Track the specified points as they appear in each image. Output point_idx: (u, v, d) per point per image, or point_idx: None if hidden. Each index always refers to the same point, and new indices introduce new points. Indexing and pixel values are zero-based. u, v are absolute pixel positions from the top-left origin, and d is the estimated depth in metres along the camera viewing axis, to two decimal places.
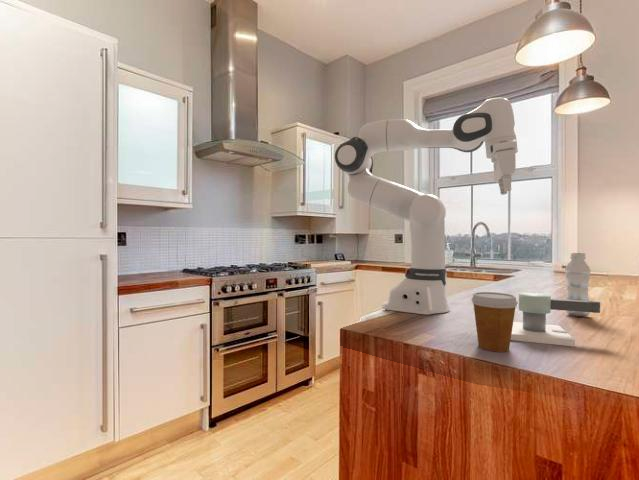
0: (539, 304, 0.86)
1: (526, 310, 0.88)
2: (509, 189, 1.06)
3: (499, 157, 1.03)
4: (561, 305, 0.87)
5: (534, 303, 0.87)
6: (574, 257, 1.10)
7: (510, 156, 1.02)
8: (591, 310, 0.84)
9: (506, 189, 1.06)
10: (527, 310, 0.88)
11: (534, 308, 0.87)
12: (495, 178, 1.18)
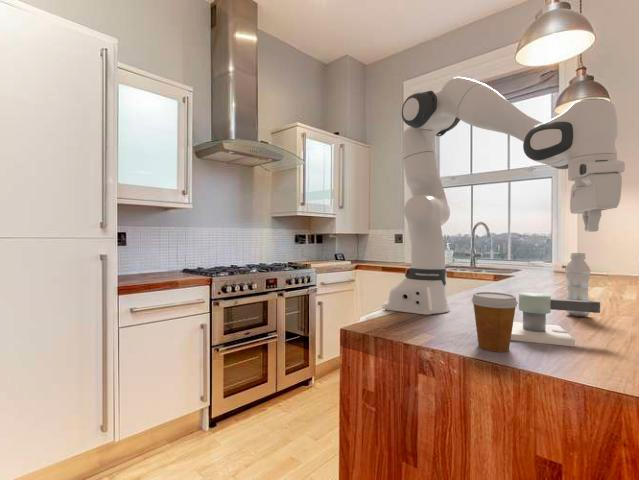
0: (539, 304, 0.86)
1: (526, 310, 0.88)
2: (595, 229, 0.79)
3: (596, 183, 0.72)
4: (561, 305, 0.87)
5: (534, 303, 0.87)
6: (574, 257, 1.10)
7: (614, 183, 0.71)
8: (591, 310, 0.84)
9: (591, 229, 0.79)
10: (527, 310, 0.88)
11: (534, 308, 0.87)
12: (573, 208, 0.87)
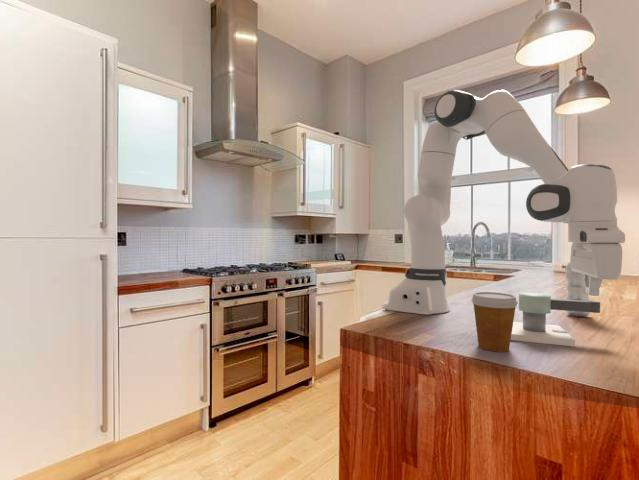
0: (539, 304, 0.86)
1: (526, 310, 0.88)
2: (596, 294, 0.79)
3: (597, 254, 0.72)
4: (561, 305, 0.87)
5: (534, 303, 0.87)
6: None
7: (614, 255, 0.71)
8: (591, 310, 0.84)
9: (592, 293, 0.79)
10: (527, 310, 0.88)
11: (534, 308, 0.87)
12: (573, 267, 0.87)
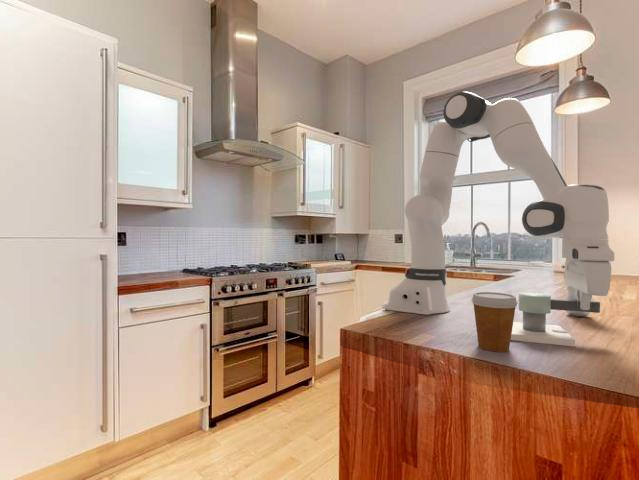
0: (539, 304, 0.86)
1: (526, 310, 0.88)
2: (587, 308, 0.83)
3: (587, 271, 0.76)
4: (561, 305, 0.87)
5: (534, 303, 0.87)
6: None
7: (604, 273, 0.75)
8: (591, 310, 0.84)
9: (583, 307, 0.83)
10: (527, 310, 0.88)
11: (534, 308, 0.87)
12: (567, 280, 0.91)
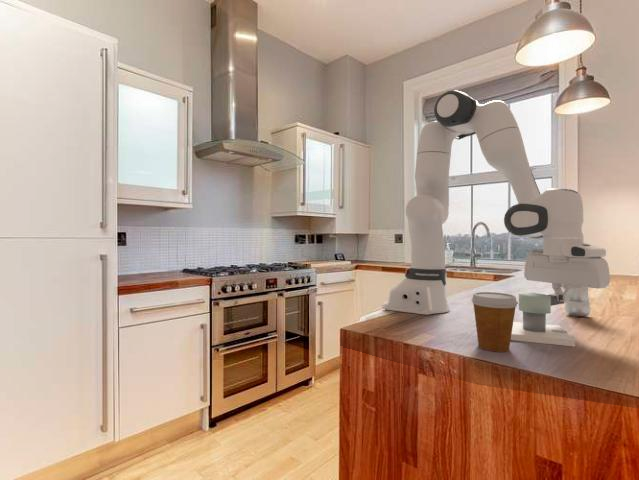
0: (549, 303, 0.87)
1: (541, 312, 0.86)
2: (567, 300, 0.92)
3: (598, 267, 0.83)
4: None
5: (547, 303, 0.86)
6: None
7: (606, 268, 0.84)
8: (561, 302, 0.95)
9: (565, 300, 0.92)
10: (542, 311, 0.86)
11: (547, 308, 0.86)
12: (534, 277, 0.98)
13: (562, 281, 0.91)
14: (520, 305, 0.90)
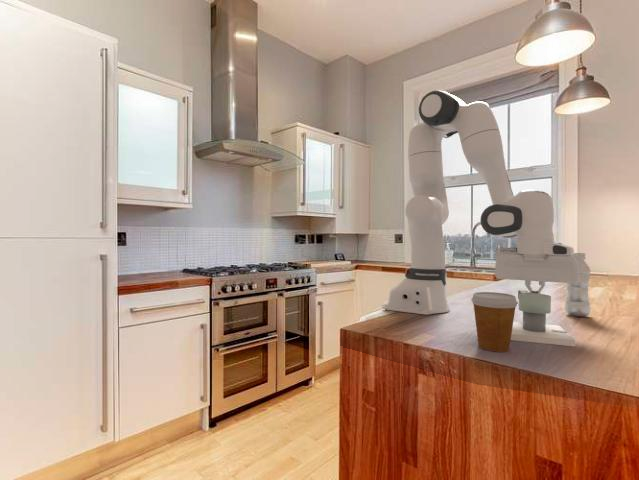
0: None
1: (549, 311, 0.87)
2: None
3: (577, 264, 0.91)
4: None
5: (550, 302, 0.88)
6: None
7: None
8: None
9: None
10: (549, 311, 0.87)
11: (550, 307, 0.88)
12: (507, 275, 1.01)
13: (539, 278, 0.96)
14: (528, 307, 0.87)
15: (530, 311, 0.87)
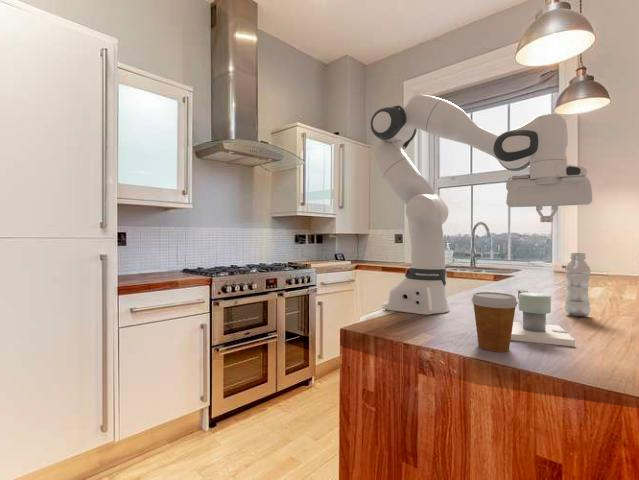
0: None
1: (549, 311, 0.87)
2: (552, 220, 0.98)
3: (590, 184, 0.91)
4: None
5: (550, 302, 0.88)
6: (574, 257, 1.10)
7: None
8: None
9: (552, 220, 0.98)
10: (549, 311, 0.87)
11: (550, 307, 0.88)
12: (519, 202, 1.01)
13: (551, 202, 0.96)
14: (528, 307, 0.87)
15: (530, 311, 0.87)
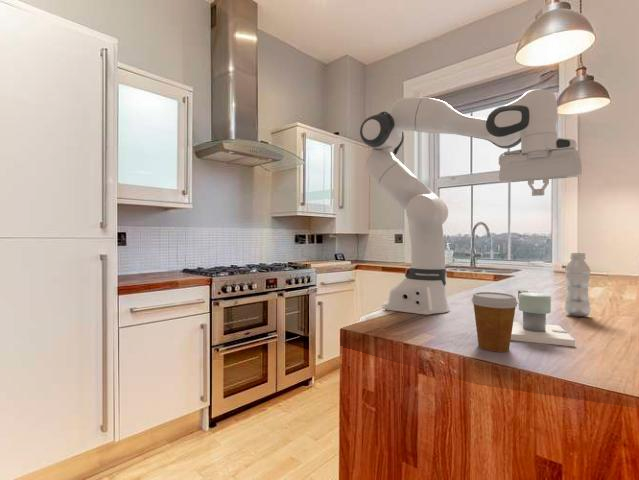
0: None
1: (549, 311, 0.87)
2: None
3: (579, 156, 0.94)
4: None
5: (550, 302, 0.88)
6: (574, 257, 1.10)
7: None
8: None
9: (543, 193, 1.00)
10: (549, 311, 0.87)
11: (550, 307, 0.88)
12: (511, 176, 1.03)
13: (542, 175, 0.99)
14: (528, 307, 0.87)
15: (530, 311, 0.87)
